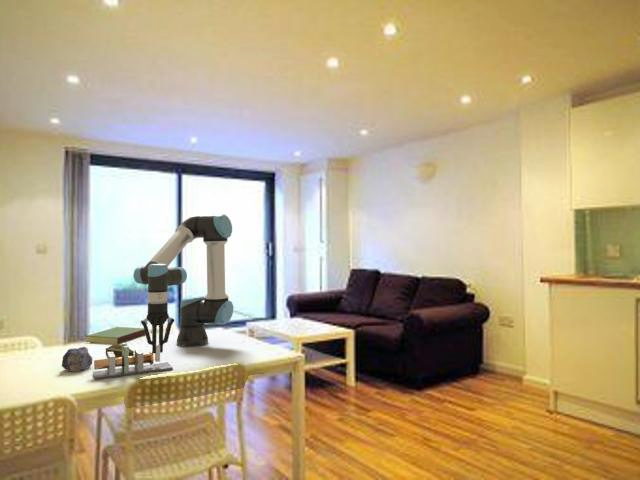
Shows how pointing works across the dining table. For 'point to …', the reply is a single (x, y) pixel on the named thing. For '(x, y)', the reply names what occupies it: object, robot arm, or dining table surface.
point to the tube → (120, 361)
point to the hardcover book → (116, 335)
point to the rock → (77, 360)
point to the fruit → (117, 350)
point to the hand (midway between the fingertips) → (157, 360)
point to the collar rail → (127, 370)
